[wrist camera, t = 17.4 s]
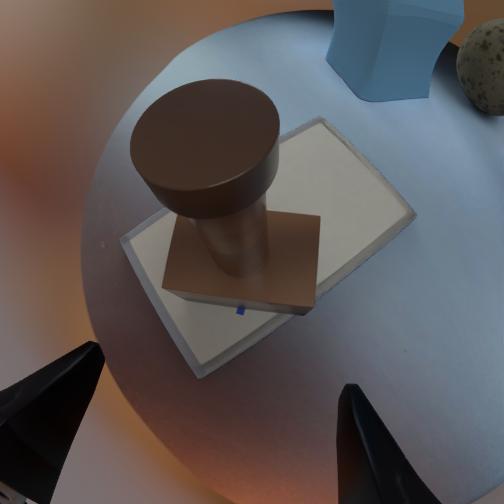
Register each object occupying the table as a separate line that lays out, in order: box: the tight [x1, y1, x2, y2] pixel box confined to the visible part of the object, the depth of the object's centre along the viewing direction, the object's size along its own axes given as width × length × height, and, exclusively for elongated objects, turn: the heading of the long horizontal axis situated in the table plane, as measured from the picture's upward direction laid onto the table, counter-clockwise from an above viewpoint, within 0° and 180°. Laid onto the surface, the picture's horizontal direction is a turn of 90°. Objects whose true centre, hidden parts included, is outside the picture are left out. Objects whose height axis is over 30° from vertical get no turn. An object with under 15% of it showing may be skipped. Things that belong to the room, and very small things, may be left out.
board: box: [119, 116, 417, 379], centre depth 21 cm, size 20×12×1 cm, turn 125°
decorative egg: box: [457, 19, 504, 116], centre depth 18 cm, size 11×11×15 cm
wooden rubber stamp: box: [130, 79, 321, 316], centre depth 13 cm, size 5×8×14 cm, turn 82°
